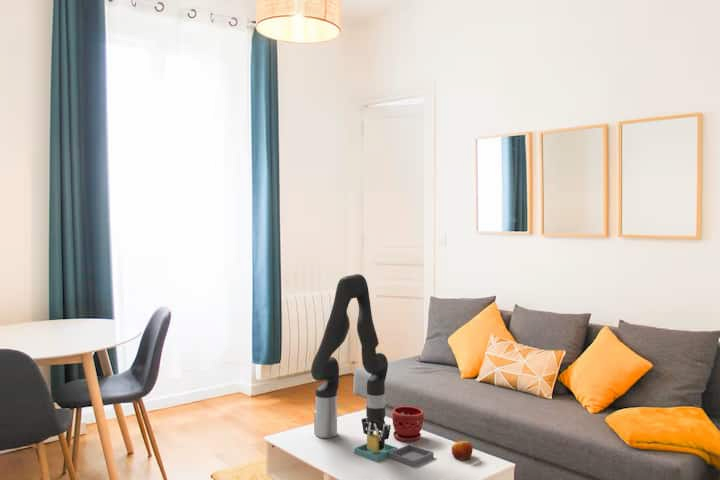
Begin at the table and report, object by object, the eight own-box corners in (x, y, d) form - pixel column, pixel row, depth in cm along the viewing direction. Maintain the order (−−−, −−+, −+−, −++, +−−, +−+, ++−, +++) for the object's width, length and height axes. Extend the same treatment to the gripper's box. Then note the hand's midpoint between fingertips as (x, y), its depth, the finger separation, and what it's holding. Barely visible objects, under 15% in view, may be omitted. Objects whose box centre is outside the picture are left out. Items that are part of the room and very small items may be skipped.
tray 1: (354, 454, 238) (354, 448, 238) (375, 445, 247) (375, 439, 247) (376, 462, 230) (376, 456, 230) (397, 453, 238) (397, 447, 238)
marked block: (366, 448, 238) (366, 436, 238) (375, 445, 242) (375, 432, 242) (376, 452, 235) (376, 439, 234) (384, 448, 238) (384, 435, 238)
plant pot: (407, 446, 246) (406, 417, 246) (386, 437, 257) (386, 409, 256) (429, 439, 254) (429, 411, 254) (408, 430, 265) (408, 403, 264)
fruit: (463, 461, 227) (456, 440, 230) (452, 466, 233) (446, 445, 236) (480, 457, 230) (473, 436, 234) (469, 462, 237) (462, 441, 240)
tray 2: (389, 458, 233) (388, 452, 233) (409, 450, 242) (409, 444, 242) (413, 467, 225) (413, 461, 225) (433, 458, 234) (433, 452, 234)
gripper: (356, 403, 240) (356, 445, 240) (382, 410, 230) (383, 455, 230) (369, 399, 245) (369, 440, 246) (395, 406, 235) (396, 449, 236)
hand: (376, 447), depth 238 cm, fingers closed on marked block, 5 cm apart
